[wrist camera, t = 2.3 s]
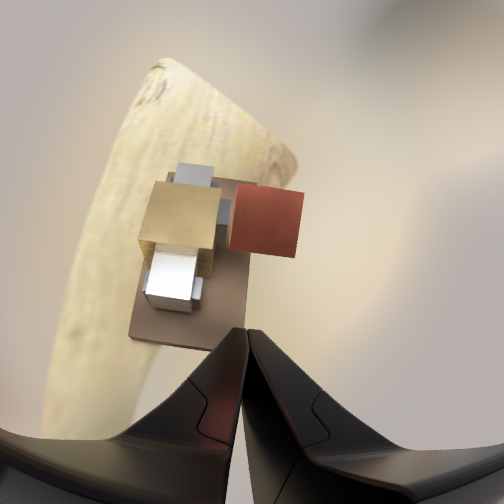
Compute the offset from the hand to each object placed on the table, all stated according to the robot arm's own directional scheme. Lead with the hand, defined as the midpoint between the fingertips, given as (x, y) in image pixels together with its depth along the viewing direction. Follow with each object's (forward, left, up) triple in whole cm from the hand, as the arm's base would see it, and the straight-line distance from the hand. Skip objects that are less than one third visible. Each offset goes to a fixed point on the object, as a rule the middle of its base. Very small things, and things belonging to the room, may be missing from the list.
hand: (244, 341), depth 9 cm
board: (+9, +3, -13) cm, 16 cm away
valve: (+9, +3, -11) cm, 15 cm away
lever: (+9, 0, -6) cm, 11 cm away
